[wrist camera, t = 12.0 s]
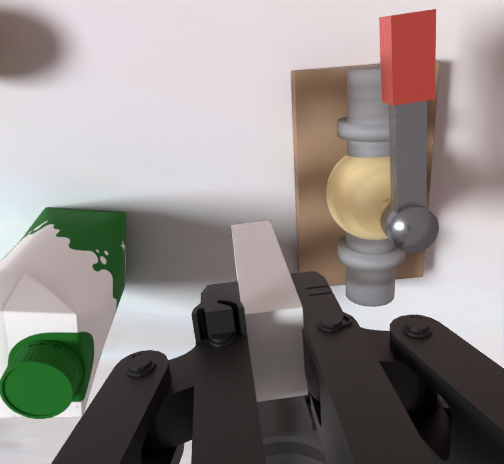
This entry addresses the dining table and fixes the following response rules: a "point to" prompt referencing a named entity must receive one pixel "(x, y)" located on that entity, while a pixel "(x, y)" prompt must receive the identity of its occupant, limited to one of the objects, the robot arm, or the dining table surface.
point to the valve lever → (408, 125)
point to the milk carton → (58, 310)
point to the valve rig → (348, 181)
